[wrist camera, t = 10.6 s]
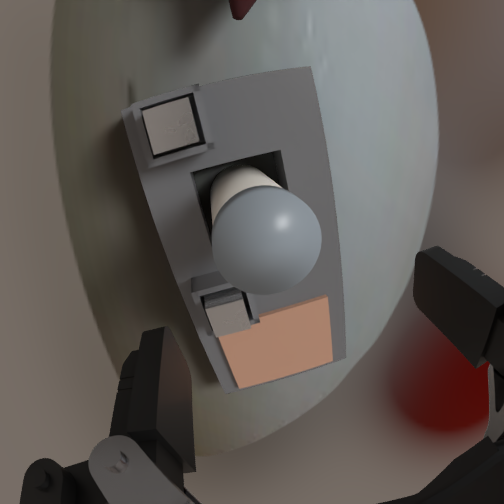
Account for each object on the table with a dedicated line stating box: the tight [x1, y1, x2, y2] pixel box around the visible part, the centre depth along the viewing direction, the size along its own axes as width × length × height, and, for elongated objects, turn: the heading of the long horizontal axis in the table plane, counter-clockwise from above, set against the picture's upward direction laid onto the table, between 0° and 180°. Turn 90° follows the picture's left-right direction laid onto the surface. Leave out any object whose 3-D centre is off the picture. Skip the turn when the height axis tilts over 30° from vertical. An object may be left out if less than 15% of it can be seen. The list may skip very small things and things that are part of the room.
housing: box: [121, 66, 346, 394], centre depth 22 cm, size 25×12×4 cm, turn 13°
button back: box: [204, 287, 251, 338], centre depth 20 cm, size 2×2×3 cm
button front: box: [142, 97, 200, 155], centre depth 15 cm, size 2×2×3 cm
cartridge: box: [210, 164, 322, 295], centre depth 17 cm, size 5×5×10 cm
